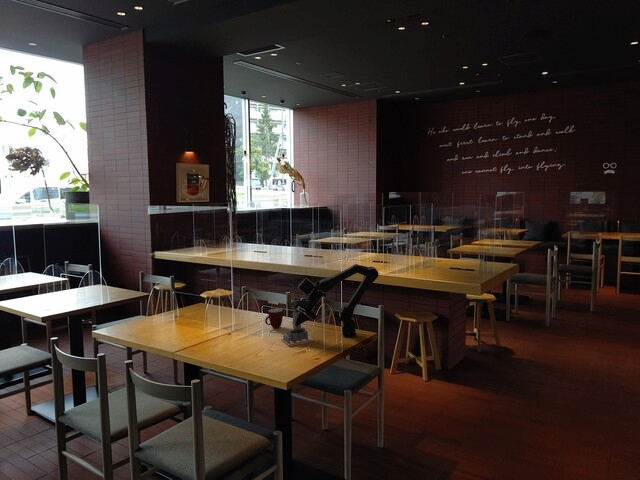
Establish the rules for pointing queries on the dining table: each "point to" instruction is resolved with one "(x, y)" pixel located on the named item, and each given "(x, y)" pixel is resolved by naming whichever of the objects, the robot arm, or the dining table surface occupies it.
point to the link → (297, 329)
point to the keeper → (290, 343)
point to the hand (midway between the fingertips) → (294, 324)
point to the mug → (275, 317)
